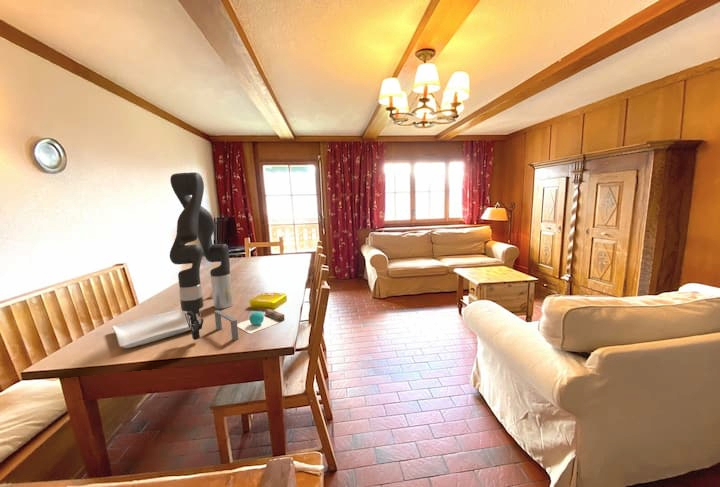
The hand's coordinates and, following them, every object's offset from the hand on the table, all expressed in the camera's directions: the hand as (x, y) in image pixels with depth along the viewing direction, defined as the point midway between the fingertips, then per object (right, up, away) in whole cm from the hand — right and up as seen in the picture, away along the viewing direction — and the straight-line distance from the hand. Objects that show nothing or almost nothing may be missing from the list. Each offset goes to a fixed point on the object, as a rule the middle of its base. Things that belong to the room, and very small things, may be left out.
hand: (196, 338), depth 114 cm
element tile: (+15, +4, +42) cm, 45 cm away
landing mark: (+18, +1, +16) cm, 24 cm away
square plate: (-23, -1, +11) cm, 26 cm away
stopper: (+24, +3, +23) cm, 34 cm away
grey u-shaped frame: (+9, 0, +7) cm, 11 cm away
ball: (+18, +4, +15) cm, 24 cm away
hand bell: (-20, +6, +57) cm, 61 cm away
